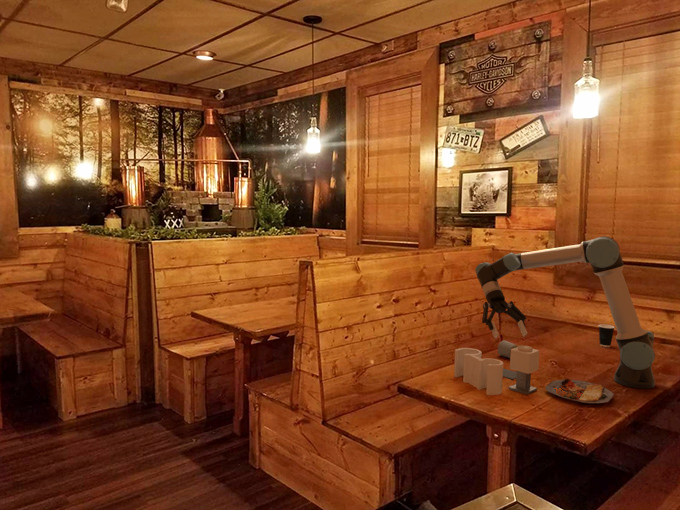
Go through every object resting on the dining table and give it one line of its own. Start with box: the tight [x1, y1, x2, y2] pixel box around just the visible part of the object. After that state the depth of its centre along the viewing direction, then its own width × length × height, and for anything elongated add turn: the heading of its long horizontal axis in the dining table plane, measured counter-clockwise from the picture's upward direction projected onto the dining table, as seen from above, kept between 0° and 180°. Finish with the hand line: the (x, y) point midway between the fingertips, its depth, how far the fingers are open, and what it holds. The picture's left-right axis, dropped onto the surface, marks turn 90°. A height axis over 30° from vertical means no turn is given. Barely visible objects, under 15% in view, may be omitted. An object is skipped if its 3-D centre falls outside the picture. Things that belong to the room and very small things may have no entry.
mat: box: [503, 368, 517, 381], centre depth 229 cm, size 10×10×1 cm
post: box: [508, 371, 538, 395], centre depth 210 cm, size 8×8×11 cm
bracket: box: [453, 347, 504, 396], centre depth 215 cm, size 25×10×12 cm, turn 20°
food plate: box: [545, 378, 615, 405], centre depth 206 cm, size 25×23×4 cm
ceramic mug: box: [497, 340, 519, 359], centre depth 256 cm, size 11×8×8 cm
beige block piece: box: [509, 345, 540, 374], centre depth 209 cm, size 8×8×9 cm
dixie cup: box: [597, 323, 616, 348], centre depth 280 cm, size 8×8×11 cm
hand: (511, 335), depth 217 cm, fingers open, 13 cm apart
